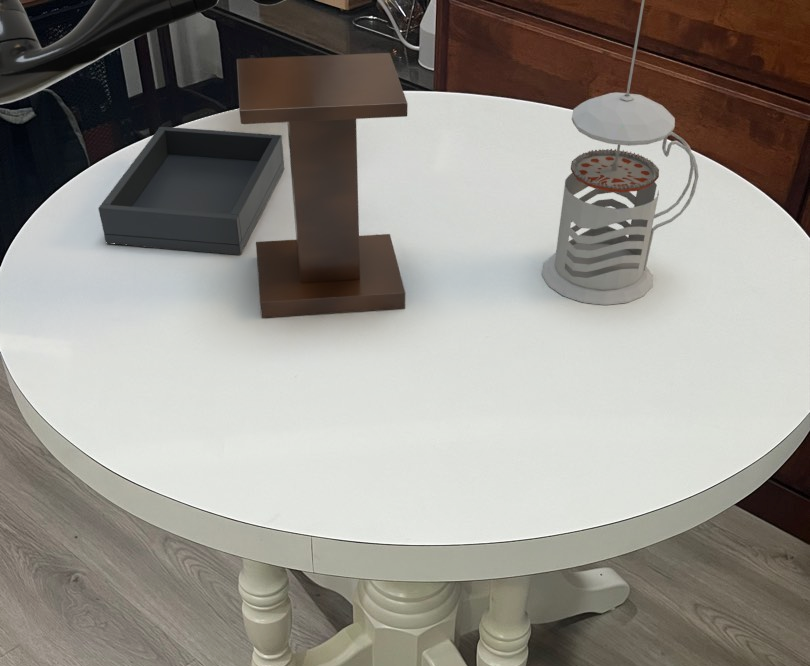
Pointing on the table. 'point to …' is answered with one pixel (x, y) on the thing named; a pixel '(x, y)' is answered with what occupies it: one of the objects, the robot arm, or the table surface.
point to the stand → (324, 181)
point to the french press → (620, 173)
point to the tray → (194, 190)
